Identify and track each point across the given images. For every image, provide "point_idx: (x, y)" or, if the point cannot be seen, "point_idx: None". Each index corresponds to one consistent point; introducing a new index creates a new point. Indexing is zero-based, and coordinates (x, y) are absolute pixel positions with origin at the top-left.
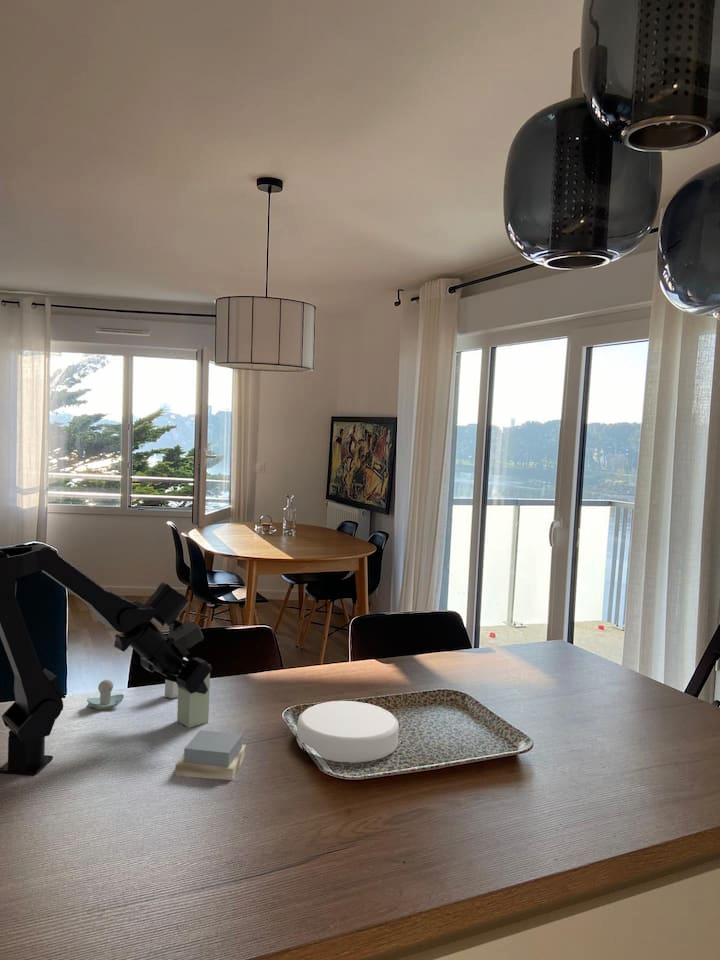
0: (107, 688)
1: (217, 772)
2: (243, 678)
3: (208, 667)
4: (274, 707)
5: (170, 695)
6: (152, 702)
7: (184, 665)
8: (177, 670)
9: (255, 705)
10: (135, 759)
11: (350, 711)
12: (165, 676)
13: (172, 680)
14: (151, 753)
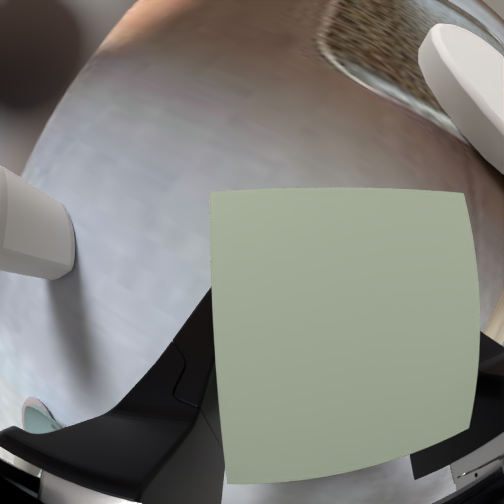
0: (36, 467)
1: None
2: (101, 61)
3: None
4: (311, 70)
5: (65, 271)
6: (67, 332)
7: (498, 500)
8: (211, 440)
9: (272, 91)
10: (396, 500)
11: (484, 60)
12: (217, 499)
13: None
14: (398, 473)
